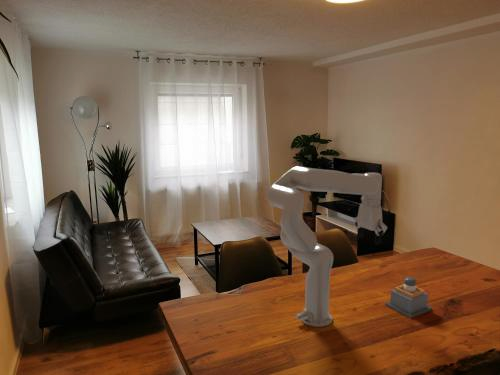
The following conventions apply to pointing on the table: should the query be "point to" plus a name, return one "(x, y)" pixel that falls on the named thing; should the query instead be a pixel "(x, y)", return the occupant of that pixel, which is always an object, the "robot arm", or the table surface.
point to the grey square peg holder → (409, 301)
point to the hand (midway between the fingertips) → (368, 240)
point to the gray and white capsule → (410, 284)
